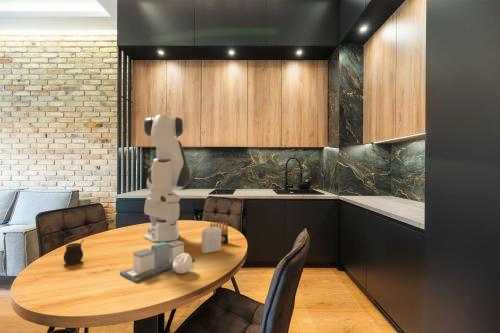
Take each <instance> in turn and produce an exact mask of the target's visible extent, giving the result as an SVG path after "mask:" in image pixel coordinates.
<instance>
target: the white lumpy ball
mask: <svg viewBox="0 0 500 333" xmlns="http://www.w3.org/2000/svg"><path fill="white" fill-rule="evenodd" d="M192 258H193V257H192V256H191V255H190V254H189V253H187V252H184V253H183V254H180V255H178V256H177V257H176V259H175V260H174V262H173V264H172V265H173V269H172V270H173V271H174V272H175V273H177V274H181V275H182V274H183V275H184V274H185V273H188V272H189V271H190V270H191V268H192V266H193V262H192Z"/></svg>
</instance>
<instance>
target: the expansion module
mask: <svg viewBox="0 0 500 333" xmlns="http://www.w3.org/2000/svg"><path fill="white" fill-rule="evenodd" d="M168 243H169V242H165V241H163V242H158V243H155V244H153V245H152V244H151V245H150V247H151V248H150V250H152V251H155V254H154V266H156V267H158V266H161V265H163V264H166V263H169V244H168Z"/></svg>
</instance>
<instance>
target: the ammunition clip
mask: <svg viewBox="0 0 500 333" xmlns="http://www.w3.org/2000/svg"><path fill="white" fill-rule="evenodd" d="M210 227H218V228H221V245H222V244H225V245H228V243H229V229H228V222H227V221H226V222H224V221H223V222H221V221H219V222H218V221H216V222H215V221H211V222H210Z"/></svg>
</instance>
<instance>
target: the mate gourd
mask: <svg viewBox="0 0 500 333" xmlns="http://www.w3.org/2000/svg"><path fill="white" fill-rule="evenodd" d="M84 241H85V239H82V241H80V242H74V243H68V244H66V245H65V251H64V254H63V261H64V264H67V265H77V264H79V263H80V262H81V261H82V260H83V257H84V252H83V250H82V243H83V242H84Z"/></svg>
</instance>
